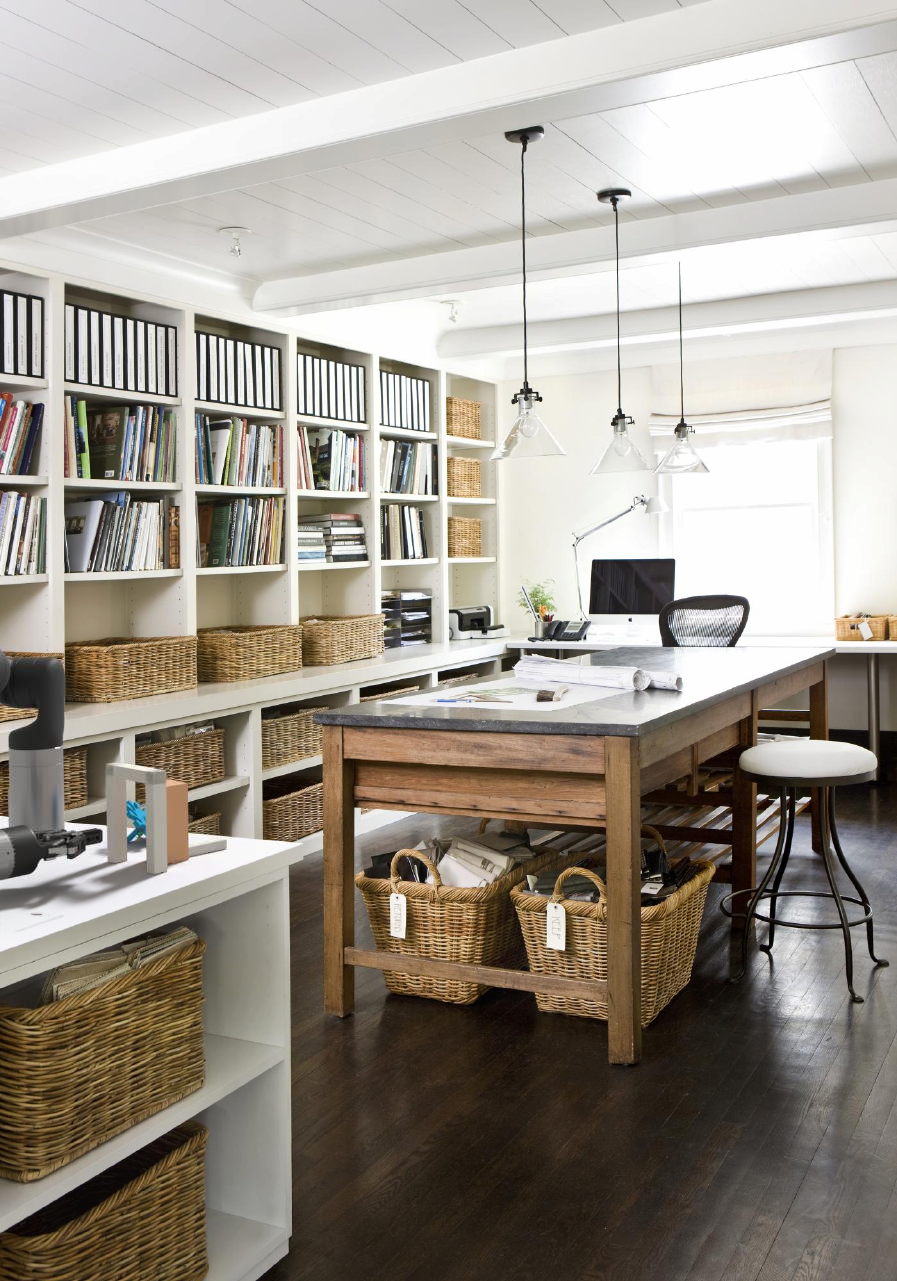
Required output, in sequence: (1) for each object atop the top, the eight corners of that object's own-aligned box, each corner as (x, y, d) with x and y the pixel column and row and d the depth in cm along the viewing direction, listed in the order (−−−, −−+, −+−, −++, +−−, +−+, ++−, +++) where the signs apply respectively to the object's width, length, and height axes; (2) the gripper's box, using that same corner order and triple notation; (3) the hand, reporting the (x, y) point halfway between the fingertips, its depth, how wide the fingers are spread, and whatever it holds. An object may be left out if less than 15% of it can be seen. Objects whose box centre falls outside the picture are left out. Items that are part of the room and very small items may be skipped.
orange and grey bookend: (146, 859, 194) (145, 783, 193) (215, 845, 204) (214, 772, 203) (163, 865, 190) (162, 787, 190) (232, 850, 201) (231, 776, 200)
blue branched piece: (159, 840, 200) (121, 799, 202) (135, 864, 200) (97, 822, 202) (179, 835, 211) (143, 795, 213) (156, 857, 211) (121, 818, 213)
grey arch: (107, 861, 193) (105, 763, 192) (120, 858, 195) (118, 761, 194) (154, 874, 184) (153, 772, 183) (167, 871, 186) (166, 770, 185)
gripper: (22, 836, 166) (124, 817, 179) (-25, 823, 174) (76, 806, 188) (23, 887, 166) (125, 864, 180) (-24, 872, 175) (76, 851, 188)
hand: (99, 834), depth 184 cm, fingers closed
